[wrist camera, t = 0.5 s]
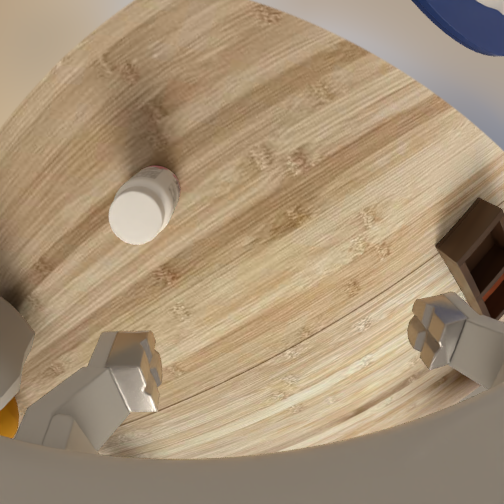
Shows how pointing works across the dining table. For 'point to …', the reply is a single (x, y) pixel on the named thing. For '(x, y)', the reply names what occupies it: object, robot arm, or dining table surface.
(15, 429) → the orange candle
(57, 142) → the dining table surface
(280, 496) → the robot arm
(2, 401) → the bottle
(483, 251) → the holder
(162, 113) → the dining table surface
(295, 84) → the dining table surface
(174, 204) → the pill bottle
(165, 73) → the dining table surface
